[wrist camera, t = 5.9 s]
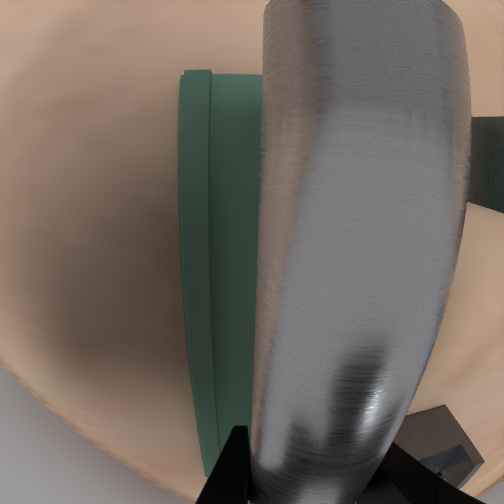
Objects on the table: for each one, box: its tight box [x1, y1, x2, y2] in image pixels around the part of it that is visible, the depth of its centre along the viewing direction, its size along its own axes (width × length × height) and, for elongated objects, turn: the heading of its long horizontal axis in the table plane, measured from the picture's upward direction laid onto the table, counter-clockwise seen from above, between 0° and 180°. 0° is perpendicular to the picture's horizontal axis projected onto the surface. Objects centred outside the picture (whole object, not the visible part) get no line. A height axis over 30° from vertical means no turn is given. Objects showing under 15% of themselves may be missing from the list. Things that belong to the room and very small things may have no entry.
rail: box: [248, 0, 471, 504], centre depth 6 cm, size 19×3×3 cm, turn 179°
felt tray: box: [178, 70, 262, 477], centre depth 12 cm, size 20×7×1 cm, turn 179°
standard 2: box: [393, 405, 485, 489], centre depth 13 cm, size 3×6×6 cm, turn 88°
